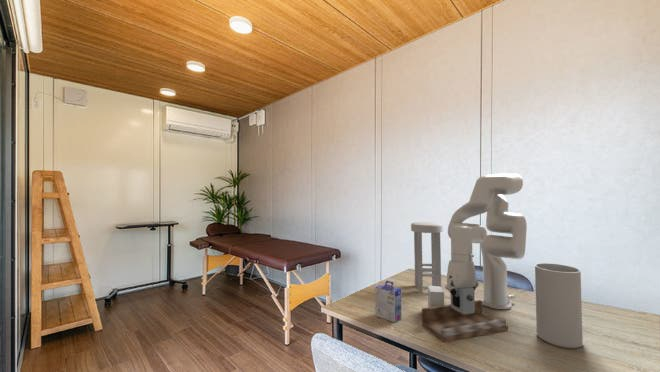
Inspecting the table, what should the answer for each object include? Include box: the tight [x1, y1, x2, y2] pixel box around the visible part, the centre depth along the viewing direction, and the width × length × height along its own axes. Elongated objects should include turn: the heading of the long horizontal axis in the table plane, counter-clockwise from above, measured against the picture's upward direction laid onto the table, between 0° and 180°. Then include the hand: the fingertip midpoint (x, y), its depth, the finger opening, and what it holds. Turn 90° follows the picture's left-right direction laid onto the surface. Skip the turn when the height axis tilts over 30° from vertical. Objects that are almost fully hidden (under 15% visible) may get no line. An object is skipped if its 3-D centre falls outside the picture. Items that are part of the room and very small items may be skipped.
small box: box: [427, 285, 445, 308], centre depth 121 cm, size 8×6×10 cm
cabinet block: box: [450, 286, 476, 314], centre depth 108 cm, size 5×8×9 cm, turn 17°
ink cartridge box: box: [374, 279, 403, 323], centre depth 118 cm, size 10×6×14 cm, turn 47°
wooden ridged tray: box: [421, 299, 509, 343], centre depth 108 cm, size 28×13×6 cm, turn 106°
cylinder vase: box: [534, 262, 584, 349], centre depth 99 cm, size 12×12×25 cm
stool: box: [410, 221, 444, 294], centre depth 152 cm, size 16×16×35 cm
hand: (462, 304), depth 109 cm, fingers closed on cabinet block, 5 cm apart
